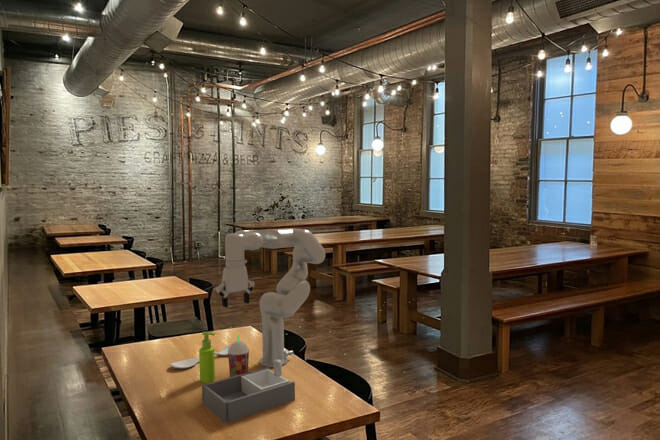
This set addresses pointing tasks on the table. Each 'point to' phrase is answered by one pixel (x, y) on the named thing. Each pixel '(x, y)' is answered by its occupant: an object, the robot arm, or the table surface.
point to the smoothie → (238, 358)
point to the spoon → (193, 361)
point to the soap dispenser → (207, 359)
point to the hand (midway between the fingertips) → (236, 304)
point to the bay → (243, 398)
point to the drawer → (263, 379)
